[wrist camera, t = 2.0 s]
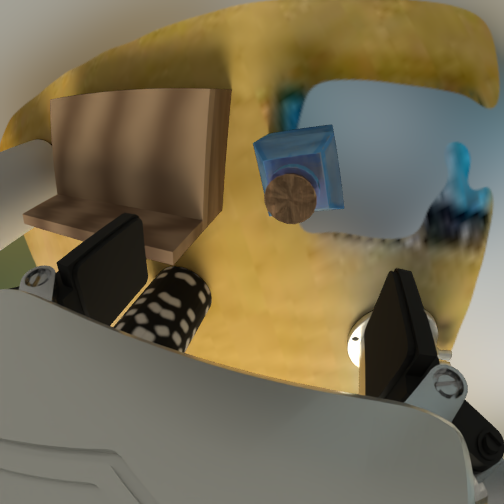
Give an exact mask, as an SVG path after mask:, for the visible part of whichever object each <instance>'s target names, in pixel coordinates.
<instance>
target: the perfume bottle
mask: <svg viewBox="0 0 504 504" xmlns="http://www.w3.org/2000/svg"><path fill="white" fill-rule="evenodd" d="M253 146H254V150H255V154H256V159H257V163H258V167H259V172H260V176H261V181H262V185H263V190H264V199H265V205H266V207H267V210H268V213H269V216H273V217H274V218H276V219H277V220H278V221H281V222H283V223H286V224H297V223H300V222H303V221H305V220H306V219H308V218H309V217H310V216H311V215H312V213H314V211H324V210H334V209H344V201H343V192H342V184H341V176H340V169H339V163H338V156H337V149H336V143H335V137H334V131H333V126H332V125H325V126H316V127H309V128H302V129H295V130H289V131H282V132H276V133H271V134H267V135H266V136H264V137H262V138H261V139H259V140H257V141H256V142H254V143H253Z"/></svg>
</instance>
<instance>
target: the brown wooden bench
mask: <svg viewBox="0 0 504 504" xmlns="http://www.w3.org/2000/svg"><path fill="white" fill-rule="evenodd" d="M231 91H232V90H228V89H200V88H159V89H135V90H120V91H109V92H99V93H88V94H81V95H74V96H68V97H62V98H57V99H51V100H50V111H51V137H52V152H53V163H54V172H55V181H56V188H57V195H55V196H53V197H51V198H50V199H48V200H46V201H44V202H42V203H41V204H39V205H37V206H35V207H34V208H32V209H30V210H28V211H27V212H25V213H23V214H22V215H23V220H24V224H27V225H30V226H33V227H37V228H40V229H43V230H47V231H50V232H53V233H57V234H60V235H64V236H67V237H70V238H74V239H77V240H81V241H85V240H86V239H88V238H89V237H90V236H92V235H93V234H95V233H96V232H97V231H99V230H100V229H101V228H103V227H104V226H106V225H107V224H108V223H110V222H111V221H113V220H114V219H115V218H117V217H118V216H120V215H121V214H123V213H131V214H136V215H138V216H139V218H140V219H141V220H142V223H143V233H144V244H145V254H146V258H147V259H151V260H154V261H158V262H162V263H166V264H170V265H174V264H175V263H176V262H177V261H178V259H179V258H180V257H181V256H182V255H183V254H184V252H185V251H186V250H187V249H188V248H189V247H190V246H191V244H192V243H193V242H194V241H195V240H196V239H197V238H198V236H199V235H200V234H201V233H202V232H203V231H204V230H205V229H206V228H207V226H208V225H209V224H210V223H211V222H212V221H213V220H214V219H215V218H216V216H217V215H218V214H219V213H220V212H221V211H222V205H223V190H224V175H225V161H226V148H227V136H228V124H229V113H230V102H231Z"/></svg>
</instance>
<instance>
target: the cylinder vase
mask: <svg viewBox="0 0 504 504" xmlns="http://www.w3.org/2000/svg"><path fill="white" fill-rule="evenodd" d="M55 195H57V188H56V181H55V172H54V163H53V152H52V146H51V145H50V144H49V143H48V142H46V141H44V140H40V139H36V140H32V141H29V142H26V143H23V144H21V145H18V146H15V147H13V148H10V149H7V150H5V151H2V152H0V250H1V249H3V248H4V247H6V246H7V245H8V244H10V243H12V242H13V241H14V240H16V239H17V238H19V237H20V236H22V235H23V234H25V233H26V232H28V231H29V230H31V229H32V228H34V227H33V226H30V225H27V224H24V220H23V215H22V214H23V213H25V212H27V211H28V210H30V209H32V208H34V207H35V206H37V205H39V204H41V203H42V202H44V201H46V200H48V199H50V198H51V197H53V196H55Z"/></svg>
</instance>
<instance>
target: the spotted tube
mask: <svg viewBox="0 0 504 504" xmlns="http://www.w3.org/2000/svg"><path fill="white" fill-rule="evenodd" d="M211 299H212V298H211V293H210V290H209V288H208V286H207V285H206V283H205V282H204V281H203V280H202V279H201V278H200V277H199V276H198V275H197V274H195V273H194V272H192V271H190V270H188V269H186V268H182V267H176V266H173V267H168V268H165V269H163V270H162V271H161V272H160V273H159V274H158V275H157V277H156V278H155V279H154V280H153V281H152V282H151V283H150V285H149V286H148V287H147V288H146V289H145V290H144V292H143V293H142V294H141V295H140V296H139V297H138V299H137V300H136V301H135V302H134V303H133V304H132V306H131V307H130V308H129V309H128V310H127V312H126V313H125V314H124V315H123V316H122V318H121V319H120V320H119V321H118V322H117V324H116V325H115V326H114V327H113V328H116V329H118V330H121V331H123V332H126V333H129V334H131V335H134V336H137V337H139V338H142V339H145V340H148V341H150V342H153V343H156V344H159V345H162V346H165V347H168V348H171V349H174V350H177V351H180V352H183V353H184V352H185V351H186V349H187V347H188V345H189V344H190V342H191V340H192V338H193V336H194V335H195V333H196V331H197V329H198V327H199V326H200V324H201V322H202V320H203V319H204V317H205V315H206V313H207V311H208V310H209V308H210V306H211Z"/></svg>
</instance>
